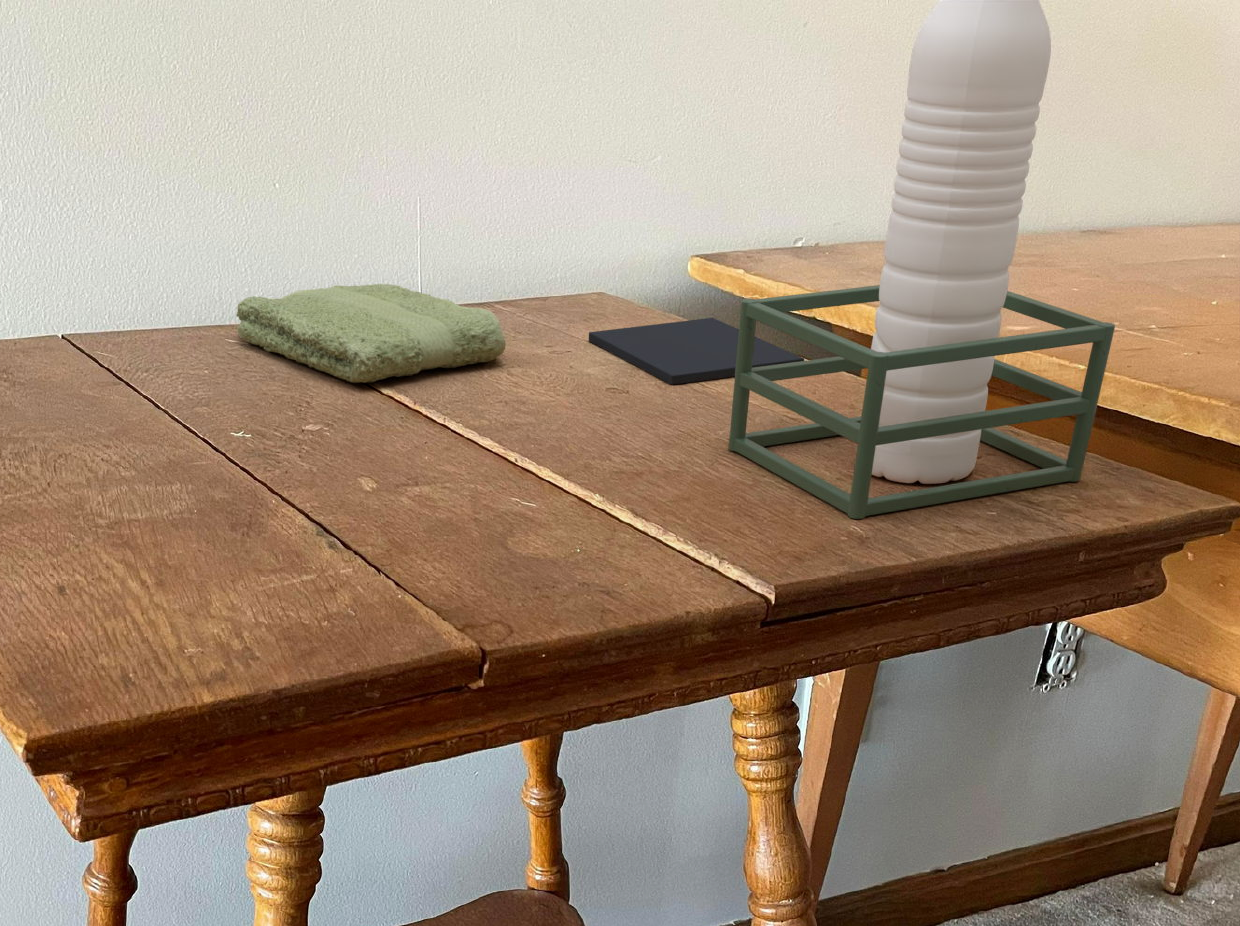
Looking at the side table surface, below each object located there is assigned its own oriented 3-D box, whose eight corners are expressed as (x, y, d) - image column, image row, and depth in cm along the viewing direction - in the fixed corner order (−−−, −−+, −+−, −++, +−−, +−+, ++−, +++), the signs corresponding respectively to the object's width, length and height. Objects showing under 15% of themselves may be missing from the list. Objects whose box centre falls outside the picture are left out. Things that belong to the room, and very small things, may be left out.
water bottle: (996, 466, 85) (1102, -82, 70) (932, 494, 82) (1028, -77, 67) (865, 432, 90) (938, -86, 75) (799, 457, 87) (861, -82, 72)
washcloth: (382, 311, 114) (380, 264, 112) (518, 364, 102) (519, 312, 101) (223, 337, 108) (218, 288, 106) (349, 396, 97) (345, 342, 95)
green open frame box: (1083, 480, 83) (1119, 325, 79) (854, 520, 79) (877, 357, 74) (938, 416, 93) (962, 273, 88) (725, 448, 88) (738, 299, 83)
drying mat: (803, 367, 102) (804, 358, 101) (671, 385, 98) (672, 375, 98) (712, 326, 110) (712, 317, 110) (588, 341, 107) (588, 331, 107)
